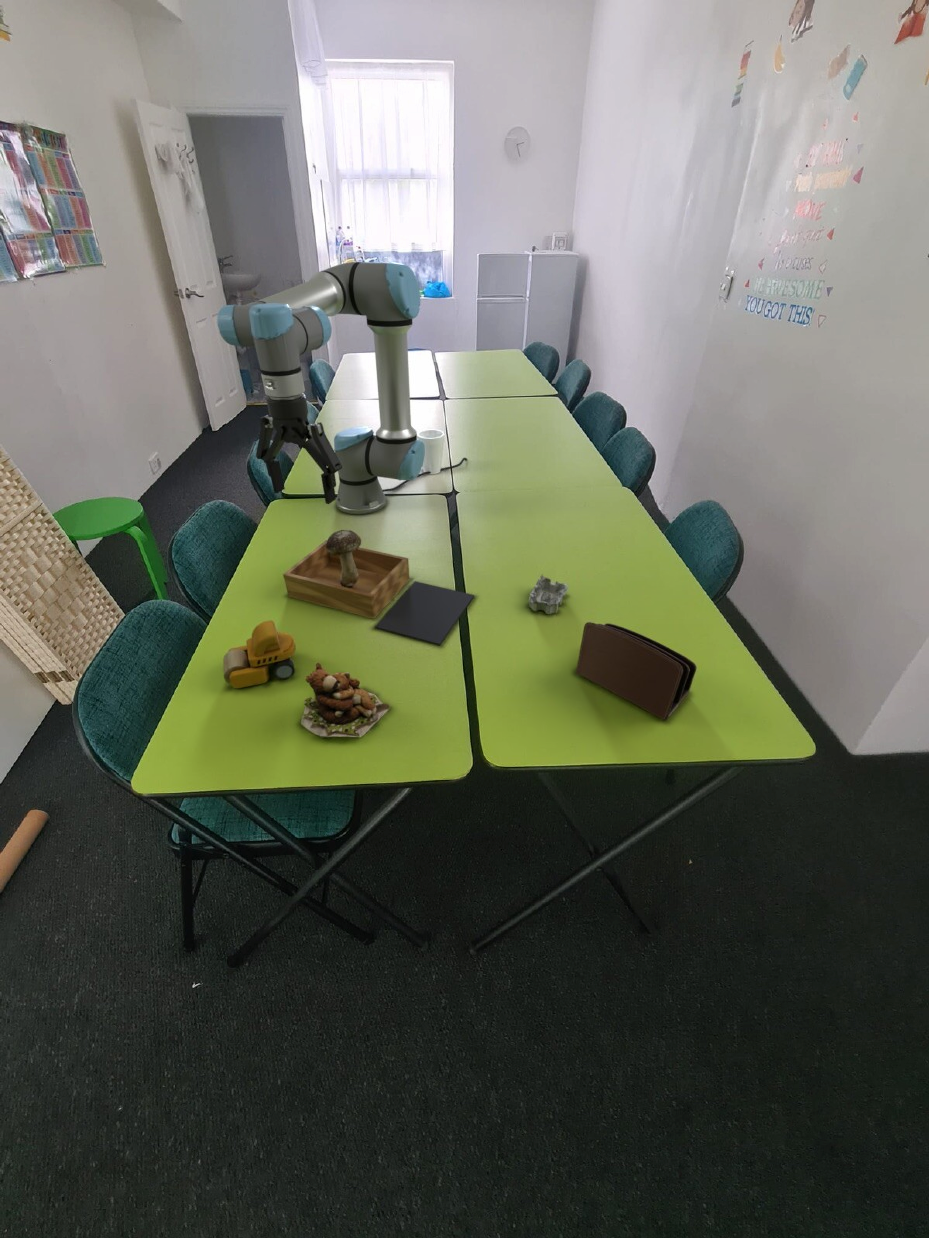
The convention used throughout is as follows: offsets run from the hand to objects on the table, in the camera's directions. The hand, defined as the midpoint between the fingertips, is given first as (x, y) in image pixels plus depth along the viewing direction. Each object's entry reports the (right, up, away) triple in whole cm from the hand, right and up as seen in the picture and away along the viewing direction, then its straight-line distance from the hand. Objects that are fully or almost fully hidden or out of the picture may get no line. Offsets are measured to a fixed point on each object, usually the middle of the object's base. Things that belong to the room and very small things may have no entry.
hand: (304, 496), depth 122 cm
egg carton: (+55, -23, +12) cm, 61 cm away
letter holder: (+68, -40, -10) cm, 79 cm away
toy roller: (-6, -38, -7) cm, 39 cm away
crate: (+6, -19, +17) cm, 26 cm away
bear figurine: (+12, -45, -17) cm, 50 cm away
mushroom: (+6, -19, +17) cm, 26 cm away
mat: (+26, -25, +9) cm, 37 cm away
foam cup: (+23, +26, +76) cm, 84 cm away
